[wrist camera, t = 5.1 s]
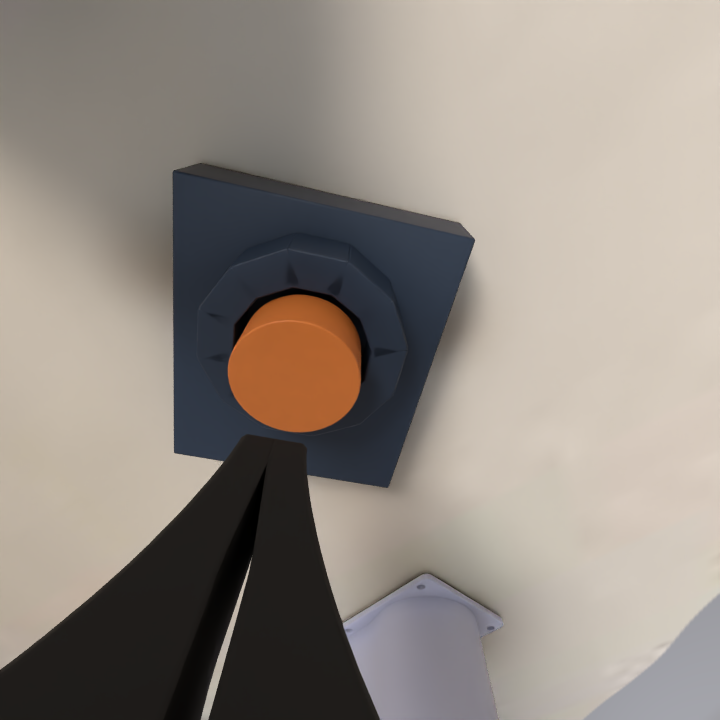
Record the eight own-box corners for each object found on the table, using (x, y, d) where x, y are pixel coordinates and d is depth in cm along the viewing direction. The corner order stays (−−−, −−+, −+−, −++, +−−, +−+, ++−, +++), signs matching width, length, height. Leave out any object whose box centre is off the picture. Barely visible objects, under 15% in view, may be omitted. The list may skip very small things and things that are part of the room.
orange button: (348, 405, 16) (346, 442, 14) (240, 386, 15) (223, 421, 13) (372, 307, 14) (374, 335, 12) (249, 281, 13) (231, 307, 11)
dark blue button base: (386, 452, 22) (390, 524, 18) (192, 419, 21) (153, 487, 17) (461, 223, 16) (492, 256, 12) (198, 162, 15) (142, 177, 11)
